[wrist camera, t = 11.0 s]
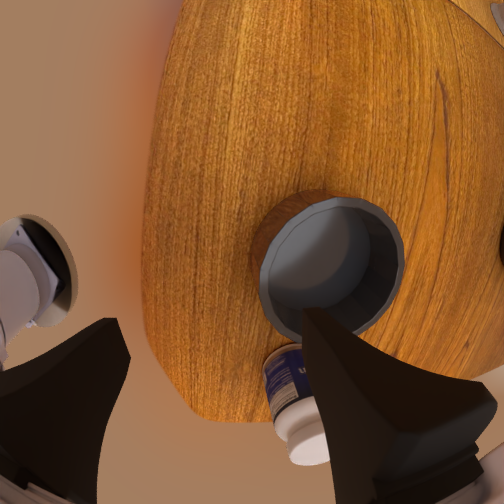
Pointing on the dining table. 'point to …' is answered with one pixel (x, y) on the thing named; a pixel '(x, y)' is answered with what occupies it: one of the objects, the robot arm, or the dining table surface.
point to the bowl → (326, 261)
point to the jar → (502, 246)
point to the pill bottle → (294, 406)
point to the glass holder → (498, 15)
